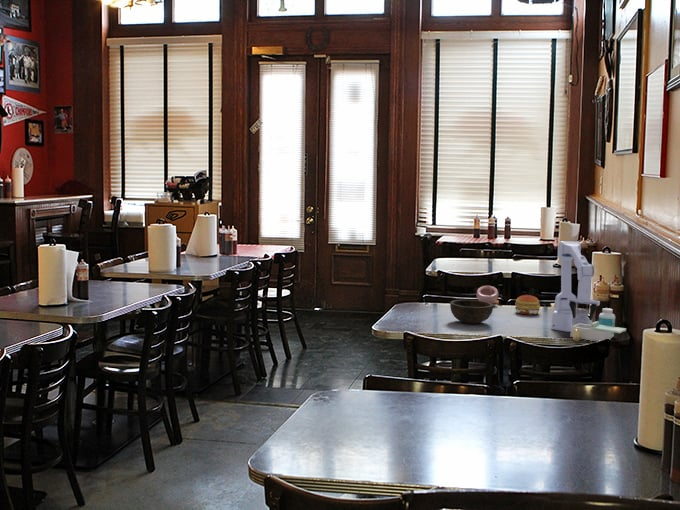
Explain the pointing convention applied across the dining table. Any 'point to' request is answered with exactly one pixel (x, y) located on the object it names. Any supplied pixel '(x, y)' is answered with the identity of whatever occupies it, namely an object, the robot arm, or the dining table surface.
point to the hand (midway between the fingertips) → (582, 318)
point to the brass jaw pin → (576, 335)
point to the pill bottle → (607, 318)
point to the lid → (606, 328)
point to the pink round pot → (487, 294)
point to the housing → (590, 333)
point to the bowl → (471, 310)
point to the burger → (527, 304)
